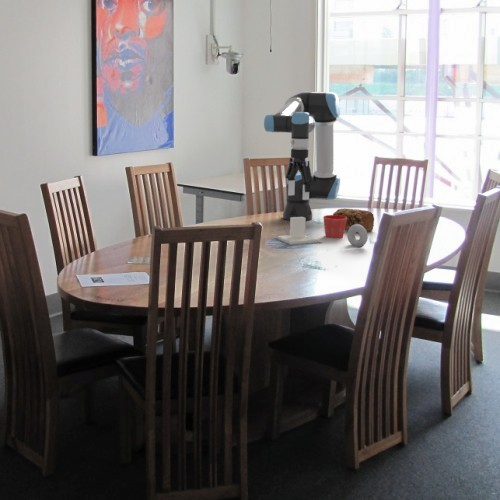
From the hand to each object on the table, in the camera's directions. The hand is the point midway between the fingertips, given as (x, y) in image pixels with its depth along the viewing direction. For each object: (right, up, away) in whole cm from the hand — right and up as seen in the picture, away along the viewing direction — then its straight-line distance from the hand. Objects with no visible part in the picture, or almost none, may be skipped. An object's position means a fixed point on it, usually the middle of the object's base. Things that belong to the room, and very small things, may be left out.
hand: (298, 197), depth 352 cm
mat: (0, -19, +4) cm, 20 cm away
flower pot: (+17, -18, +14) cm, 28 cm away
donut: (+25, -22, -5) cm, 34 cm away
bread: (+28, -13, +35) cm, 47 cm away
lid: (0, -19, +4) cm, 19 cm away
